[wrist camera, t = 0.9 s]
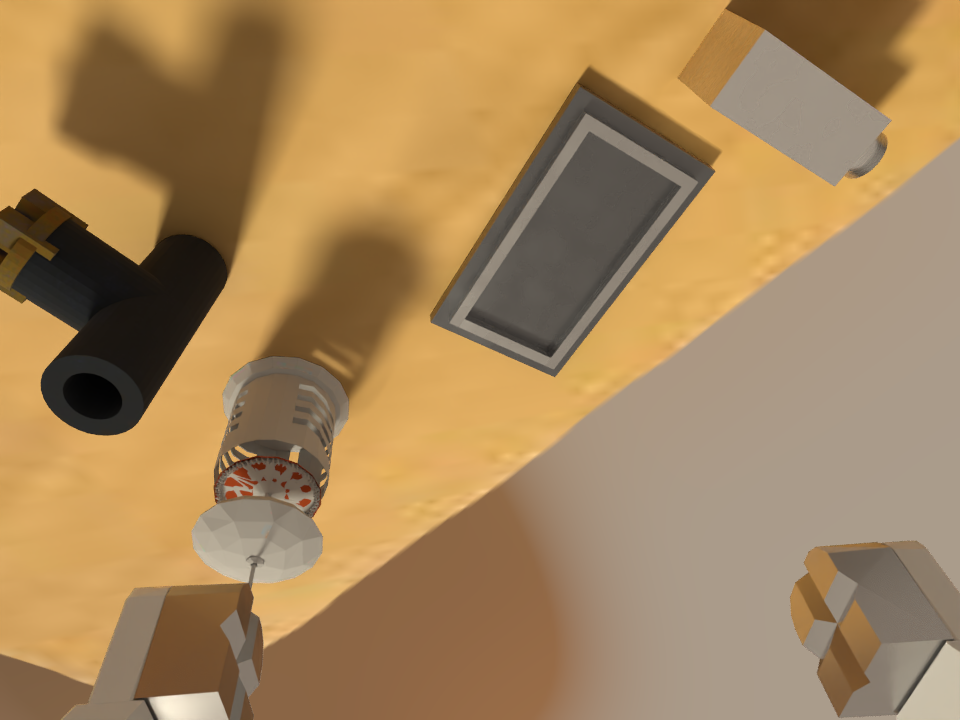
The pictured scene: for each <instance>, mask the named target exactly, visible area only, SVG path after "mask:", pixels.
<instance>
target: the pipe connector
mask: <svg viewBox="0 0 960 720" xmlns="http://www.w3.org/2000/svg"><path fill="white" fill-rule="evenodd" d="M87 227H88V224H86V223H85V222H83V221H82V220H80V219H79V218H77V217H76V216H74V215H73V214H71V213H70V212H68V211H67V210H66V209H64V208H63V207H61V206H60V205H58V204H57V203H55V202H54V201H52V200H51V199H49V198H48V197H46V196H45V195H44V194H42V193H41V192H39V191H38V190H36V189H33V190H32V191H30V192H29V193H27V194H26V195H24V196H23V197H22V198H21V200H20V202H19V203H18V205H17V206H16V208H15V209H13V208H12V207H10V206H8V207H6V208H5V209H3V210H2V211H0V290H1V291H2V292H4V293H6V294H7V295H9V296H11V297H12V298H14V299H15V300H17V301H19V302H20V303H23V302H24V301H25V300H26V299H28V300H29V301H31V302H32V303H34V304H36V305H37V306H39V307H40V308H42V309H44V310H45V311H47V312H49V313H50V314H52V315H53V316H55V317H57V318H58V319H60V320H61V321H63V322H65V323H66V324H68V325H69V326H71V327H73V328H74V329H76V330H78V331H79V332H78V334H77V335H76V336H75V337H74V338H73V339H72V340H71V341H70V342H69V344H68V345H67V346H66V347H65V348H64V349H63V350H62V351H61V352H60V353H59V355H58V356H57V357H56V358H55V359H54V360H53V361H52V362H51V363H50V365H49V366H48V367H47V368H46V369H45V371H44V373H43V375H42V379H41V391H42V395H43V398H44V400H45V402H46V403H47V405H48V407H49V408H50V409H51V410H52V411H53V413H54V414H55V415H56V416H58V417H59V418H60V419H61V420H62V421H64V422H65V423H67V424H68V425H70V426H72V427H74V428H76V429H78V430H80V431H83V432H86V433H90V434H95V435H117V434H120V433H124V432H126V431H128V430H130V429H132V428H133V427H134V426H135V425H136V424H137V423H138V422H139V420H140V419H141V417H142V415H143V414H144V412H145V411H146V409H147V408H148V406H149V404H150V403H151V401H152V400H153V398H154V397H155V395H156V393H157V392H158V390H159V389H160V387H161V386H162V384H163V382H164V381H165V379H166V378H167V376H168V375H169V373H170V371H171V370H172V368H173V367H174V365H175V364H176V362H177V360H178V359H179V357H180V356H181V354H182V353H183V351H184V349H185V348H186V346H187V345H188V343H189V342H190V340H191V338H192V337H193V335H194V334H195V332H196V331H197V329H198V327H199V326H200V324H201V323H202V321H203V320H204V318H205V316H206V315H207V313H208V312H209V310H210V309H211V307H212V305H213V304H214V302H215V301H216V299H217V298H218V296H219V294H220V293H221V291H222V290H223V288H224V286H225V284H226V281H227V270H226V266H225V263H224V260H223V259H222V257H221V255H220V254H219V253H218V252H217V250H216V249H215V248H214V247H212V246H211V245H210V244H209V243H207V242H205V241H204V240H202V239H199V238H197V237H194V236H189V235H174V236H171V237H168V238H166V239H164V240H163V241H161V242H160V243H159V244H158V245H157V246H156V247H155V248H154V250H153V251H152V252H151V253H150V254H149V255H148V256H147V257H146V258H145V260H144V261H143V262H142V263H141V264H140V265H137V264H136V263H134V262H133V261H131V260H130V259H128V258H127V257H125V256H124V255H123V254H121V253H120V252H118V251H117V250H115V249H114V248H112V247H111V246H109V245H108V244H106V243H105V242H103V241H102V240H100V239H99V238H97V237H96V236H95V235H93V234H92V233H90V232H89V231H87V230H86V228H87Z"/></svg>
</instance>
